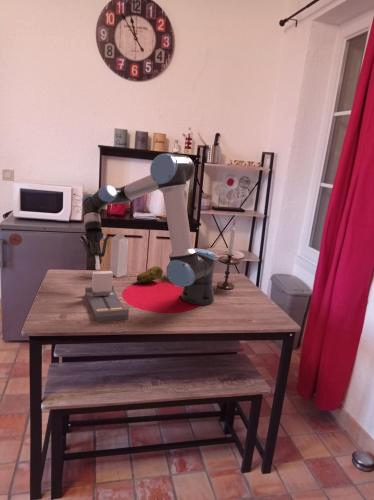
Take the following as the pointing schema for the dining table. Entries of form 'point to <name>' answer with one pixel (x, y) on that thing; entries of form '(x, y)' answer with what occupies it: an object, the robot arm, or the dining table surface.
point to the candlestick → (228, 263)
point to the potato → (150, 275)
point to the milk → (119, 255)
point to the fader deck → (106, 306)
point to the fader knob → (102, 282)
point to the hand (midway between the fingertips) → (98, 270)
